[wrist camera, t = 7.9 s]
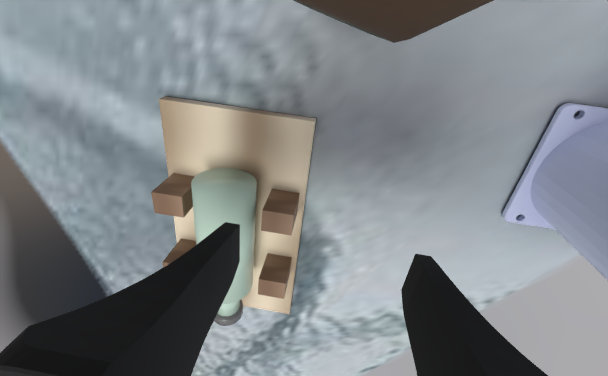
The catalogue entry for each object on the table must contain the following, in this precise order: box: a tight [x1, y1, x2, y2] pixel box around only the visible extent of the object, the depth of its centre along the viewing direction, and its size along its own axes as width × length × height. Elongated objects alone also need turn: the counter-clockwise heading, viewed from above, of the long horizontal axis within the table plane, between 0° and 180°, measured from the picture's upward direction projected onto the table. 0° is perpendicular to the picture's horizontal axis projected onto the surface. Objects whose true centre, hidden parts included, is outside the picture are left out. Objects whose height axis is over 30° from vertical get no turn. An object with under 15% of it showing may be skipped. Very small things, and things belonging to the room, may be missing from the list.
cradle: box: [151, 96, 316, 314], centre depth 22 cm, size 10×18×4 cm, turn 174°
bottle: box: [191, 168, 257, 326], centre depth 22 cm, size 4×12×4 cm, turn 173°
